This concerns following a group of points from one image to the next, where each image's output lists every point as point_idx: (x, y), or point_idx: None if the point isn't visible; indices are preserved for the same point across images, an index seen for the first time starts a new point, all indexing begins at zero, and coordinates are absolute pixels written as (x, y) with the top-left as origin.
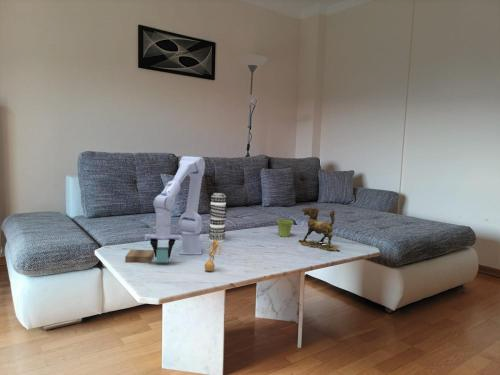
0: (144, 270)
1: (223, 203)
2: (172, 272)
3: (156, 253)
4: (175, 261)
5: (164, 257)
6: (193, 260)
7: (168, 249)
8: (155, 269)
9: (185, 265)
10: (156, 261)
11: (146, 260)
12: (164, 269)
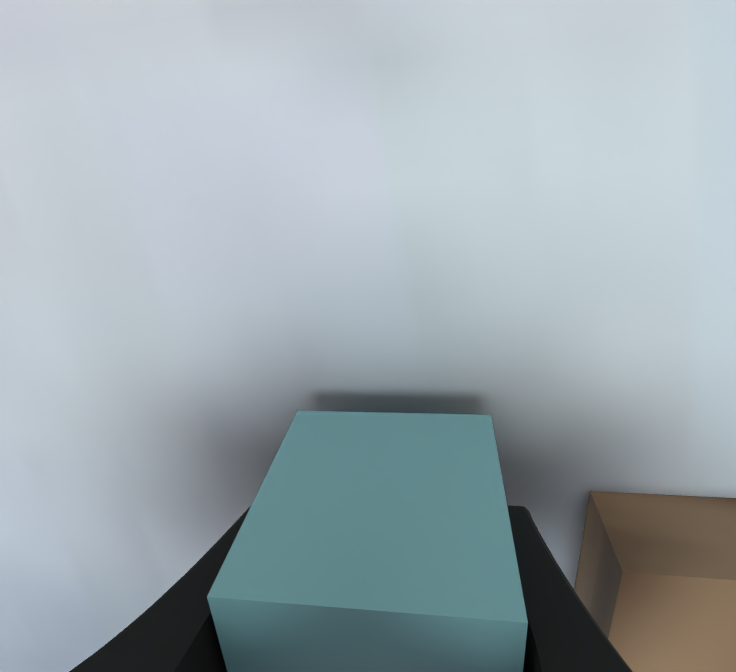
0: (692, 80)
1: None
2: (127, 8)
3: (512, 539)
4: None
5: (334, 465)
6: (53, 554)
7: (237, 668)
8: (472, 165)
9: (67, 383)
10: (489, 420)
11: (669, 520)
12: (311, 178)
